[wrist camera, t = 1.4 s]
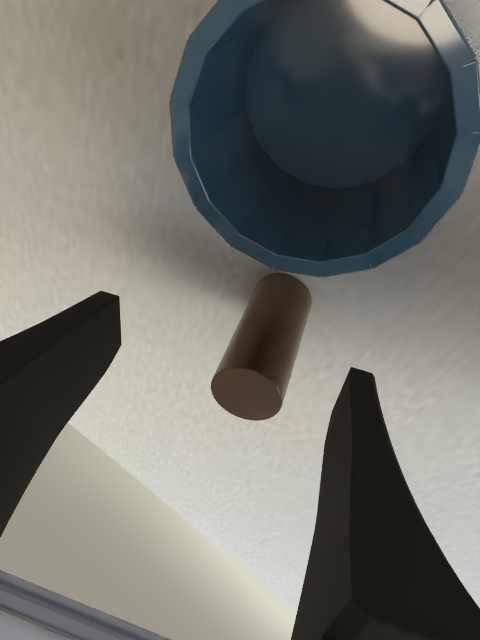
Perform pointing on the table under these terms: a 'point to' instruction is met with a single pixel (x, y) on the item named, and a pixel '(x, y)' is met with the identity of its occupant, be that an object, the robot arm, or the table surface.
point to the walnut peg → (263, 349)
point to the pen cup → (325, 127)
